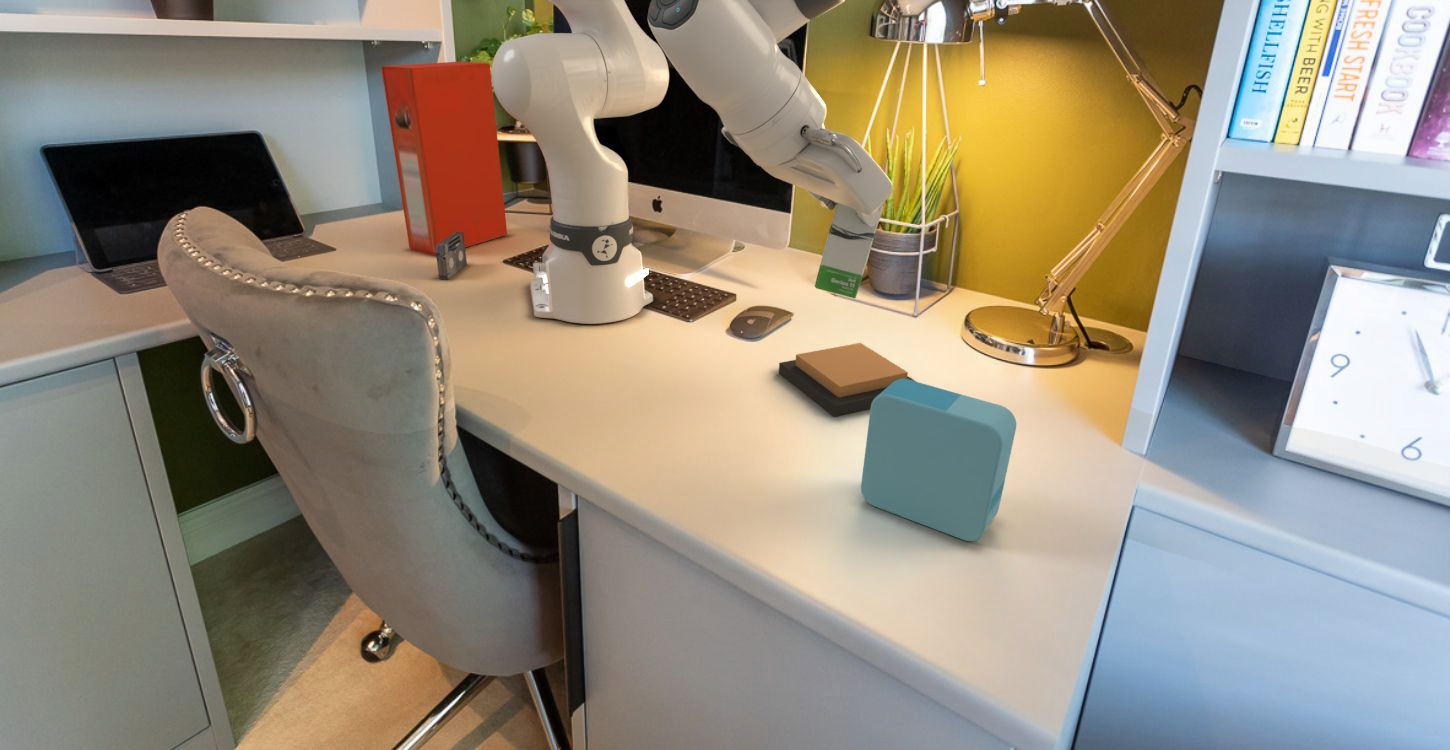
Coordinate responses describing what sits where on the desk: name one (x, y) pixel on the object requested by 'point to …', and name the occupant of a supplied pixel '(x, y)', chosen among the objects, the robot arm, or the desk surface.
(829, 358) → the pad stack
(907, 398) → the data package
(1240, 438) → the desk surface
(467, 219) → the file binder
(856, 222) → the ink box
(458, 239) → the mini dv tape
